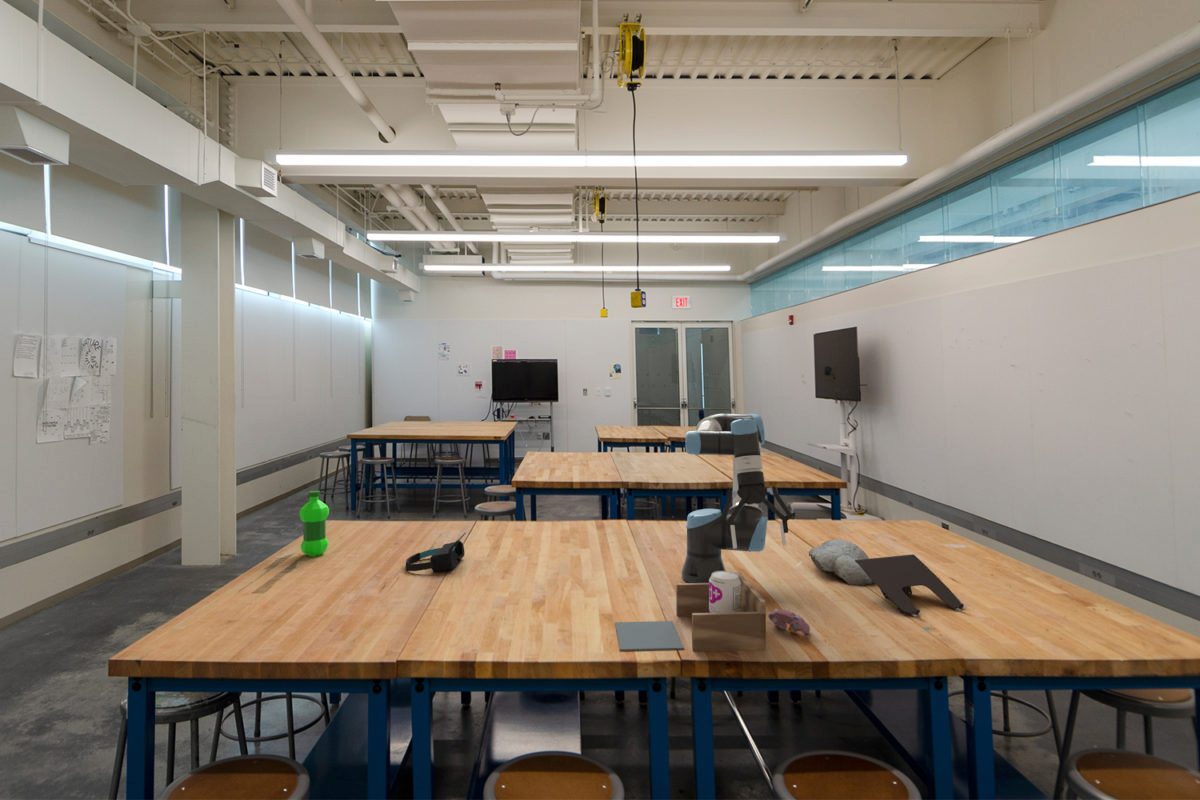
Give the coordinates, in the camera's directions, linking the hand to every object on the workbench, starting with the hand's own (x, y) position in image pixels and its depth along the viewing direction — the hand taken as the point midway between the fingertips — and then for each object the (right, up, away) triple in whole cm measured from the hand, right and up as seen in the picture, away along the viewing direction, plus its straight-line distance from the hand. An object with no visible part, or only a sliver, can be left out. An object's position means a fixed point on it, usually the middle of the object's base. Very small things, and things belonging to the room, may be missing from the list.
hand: (759, 547), depth 156 cm
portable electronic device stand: (+49, -20, +12) cm, 55 cm away
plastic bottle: (-158, -20, +62) cm, 171 cm away
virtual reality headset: (-106, -20, +49) cm, 119 cm away
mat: (-33, -20, -11) cm, 40 cm away
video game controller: (+5, -20, -8) cm, 23 cm away
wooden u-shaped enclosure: (-14, -20, -8) cm, 26 cm away
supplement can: (-12, -20, -8) cm, 25 cm away
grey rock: (+41, -20, +40) cm, 61 cm away
